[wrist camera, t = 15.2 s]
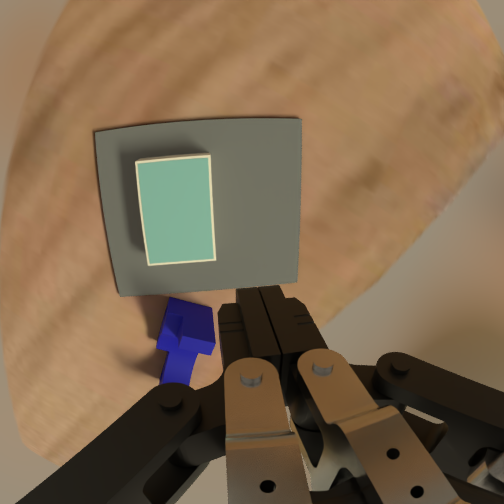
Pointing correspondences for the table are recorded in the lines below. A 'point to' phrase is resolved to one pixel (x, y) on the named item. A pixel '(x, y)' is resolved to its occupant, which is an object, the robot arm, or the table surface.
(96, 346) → the table surface
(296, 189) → the mat
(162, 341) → the blue u-shaped bracket
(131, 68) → the table surface
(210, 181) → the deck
